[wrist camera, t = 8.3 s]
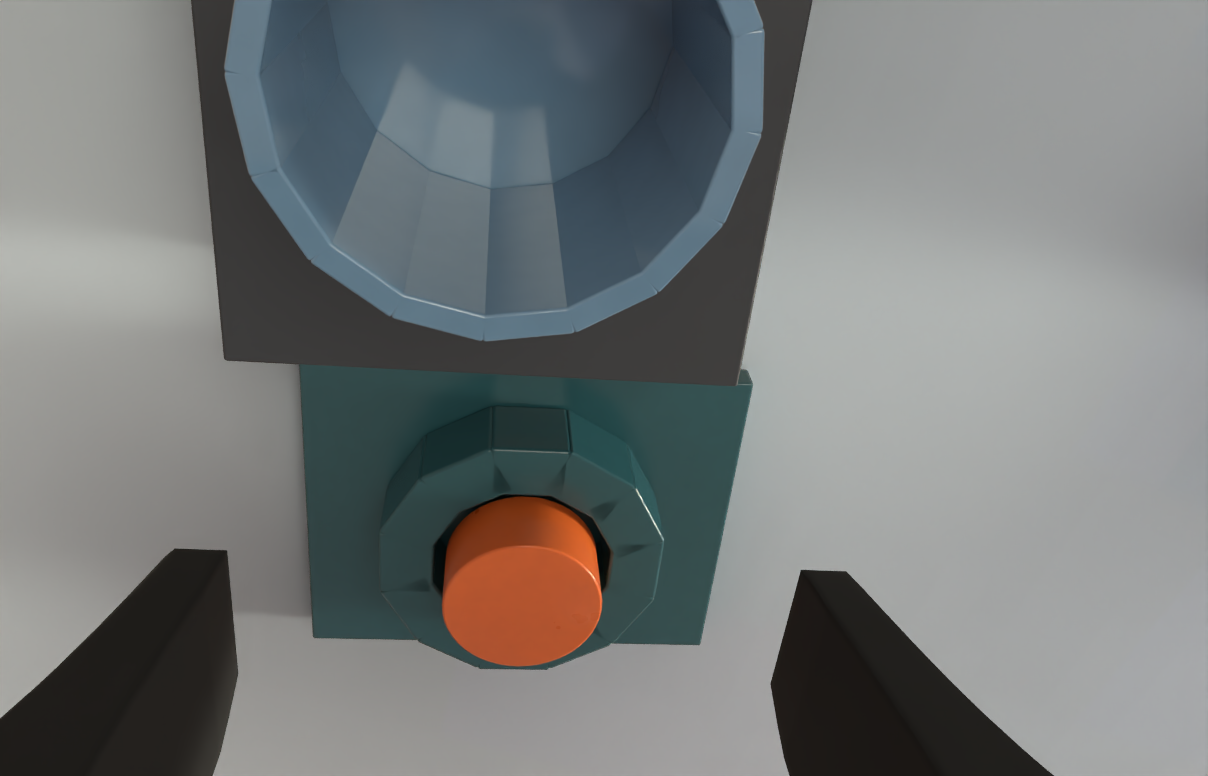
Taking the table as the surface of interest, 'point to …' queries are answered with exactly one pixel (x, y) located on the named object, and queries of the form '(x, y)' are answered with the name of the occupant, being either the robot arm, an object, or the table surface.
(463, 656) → the control pad
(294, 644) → the table surface
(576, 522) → the button
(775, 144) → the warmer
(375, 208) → the tub
